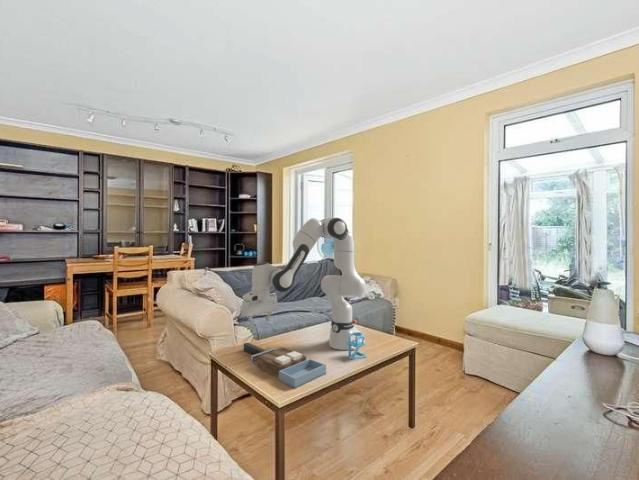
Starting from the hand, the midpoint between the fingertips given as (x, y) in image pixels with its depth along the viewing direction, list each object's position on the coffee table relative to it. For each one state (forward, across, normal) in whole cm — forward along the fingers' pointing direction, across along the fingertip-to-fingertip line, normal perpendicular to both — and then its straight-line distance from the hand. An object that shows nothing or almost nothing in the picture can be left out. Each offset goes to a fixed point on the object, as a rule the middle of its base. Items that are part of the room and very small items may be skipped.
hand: (260, 322), depth 159 cm
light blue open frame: (+17, -35, +34) cm, 52 cm away
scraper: (+18, 0, -4) cm, 18 cm away
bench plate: (+17, 0, +17) cm, 24 cm away
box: (+17, 0, +31) cm, 35 cm away
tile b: (+12, +3, +21) cm, 25 cm away
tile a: (+12, -4, +21) cm, 25 cm away
